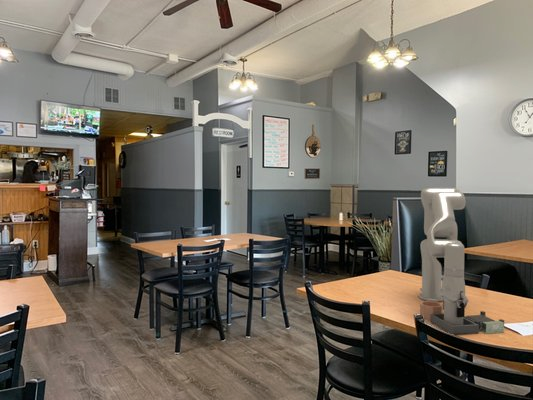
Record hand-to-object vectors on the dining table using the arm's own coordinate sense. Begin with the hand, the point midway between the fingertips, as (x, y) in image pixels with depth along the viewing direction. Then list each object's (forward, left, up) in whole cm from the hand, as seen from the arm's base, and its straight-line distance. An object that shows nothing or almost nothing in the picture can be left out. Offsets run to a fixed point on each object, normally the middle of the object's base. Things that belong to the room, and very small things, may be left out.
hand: (453, 313), depth 166 cm
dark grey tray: (0, 0, -6) cm, 6 cm away
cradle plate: (0, +12, -5) cm, 13 cm away
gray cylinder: (0, 0, -5) cm, 5 cm away
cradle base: (+1, +12, -6) cm, 14 cm away
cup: (-14, -2, -6) cm, 15 cm away
